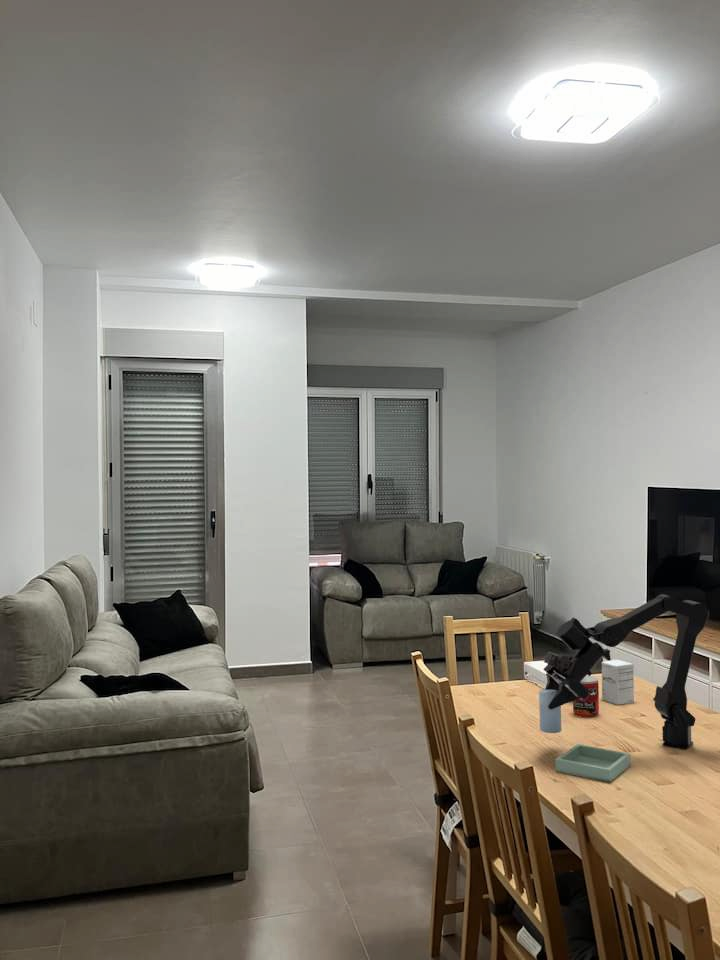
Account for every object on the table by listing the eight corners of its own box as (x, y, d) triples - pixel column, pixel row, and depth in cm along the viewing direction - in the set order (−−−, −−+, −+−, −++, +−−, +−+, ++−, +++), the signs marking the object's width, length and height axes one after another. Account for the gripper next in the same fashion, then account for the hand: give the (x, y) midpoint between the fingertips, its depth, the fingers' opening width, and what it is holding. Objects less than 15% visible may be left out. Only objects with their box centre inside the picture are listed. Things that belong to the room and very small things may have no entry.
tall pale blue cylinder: (565, 728, 223) (564, 691, 222) (556, 734, 218) (555, 696, 218) (545, 725, 226) (544, 688, 226) (536, 730, 222) (535, 693, 221)
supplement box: (601, 700, 273) (600, 661, 273) (619, 697, 276) (618, 658, 276) (617, 705, 266) (616, 666, 266) (635, 702, 269) (634, 663, 269)
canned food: (570, 716, 256) (569, 680, 256) (576, 709, 263) (575, 674, 263) (595, 719, 253) (595, 682, 253) (601, 711, 260) (600, 676, 260)
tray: (630, 765, 213) (630, 753, 213) (609, 782, 202) (609, 770, 202) (578, 755, 221) (577, 743, 221) (555, 771, 210) (555, 759, 210)
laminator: (598, 700, 274) (598, 681, 274) (564, 703, 271) (564, 684, 271) (552, 676, 307) (551, 659, 307) (521, 679, 304) (520, 662, 304)
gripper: (549, 634, 232) (512, 676, 230) (576, 648, 213) (536, 694, 212) (577, 661, 233) (540, 703, 231) (606, 677, 214) (566, 723, 213)
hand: (545, 705), depth 222 cm, fingers closed on tall pale blue cylinder, 6 cm apart
